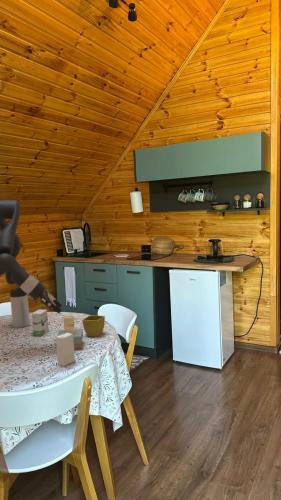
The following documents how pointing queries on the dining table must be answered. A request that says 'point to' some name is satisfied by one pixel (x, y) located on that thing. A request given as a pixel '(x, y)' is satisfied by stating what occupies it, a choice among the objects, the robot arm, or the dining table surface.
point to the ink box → (40, 322)
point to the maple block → (69, 324)
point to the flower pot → (93, 325)
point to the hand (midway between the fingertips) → (60, 309)
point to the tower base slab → (78, 346)
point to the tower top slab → (75, 335)
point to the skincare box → (65, 349)
